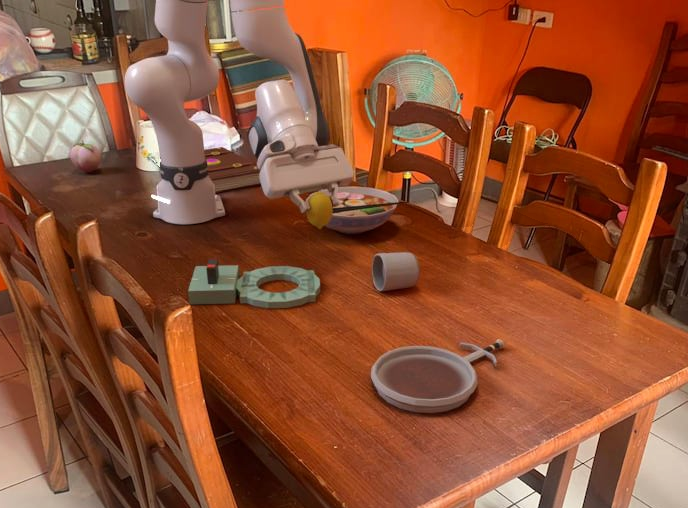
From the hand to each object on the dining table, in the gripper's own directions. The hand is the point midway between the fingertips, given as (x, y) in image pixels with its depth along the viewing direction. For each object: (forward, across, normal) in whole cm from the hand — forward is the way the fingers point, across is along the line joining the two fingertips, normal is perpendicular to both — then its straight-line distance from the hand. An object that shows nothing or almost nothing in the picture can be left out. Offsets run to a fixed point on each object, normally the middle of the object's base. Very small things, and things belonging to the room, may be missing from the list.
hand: (320, 208), depth 139 cm
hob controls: (+8, +23, -12) cm, 28 cm away
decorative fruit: (-63, +25, -84) cm, 107 cm away
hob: (+12, +12, -8) cm, 19 cm away
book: (-46, -6, -66) cm, 81 cm away
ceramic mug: (+20, -9, -1) cm, 22 cm away
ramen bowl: (-3, -20, -24) cm, 31 cm away
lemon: (+3, 0, -4) cm, 5 cm away
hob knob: (+6, +24, -10) cm, 26 cm away
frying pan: (+43, +2, +22) cm, 48 cm away
